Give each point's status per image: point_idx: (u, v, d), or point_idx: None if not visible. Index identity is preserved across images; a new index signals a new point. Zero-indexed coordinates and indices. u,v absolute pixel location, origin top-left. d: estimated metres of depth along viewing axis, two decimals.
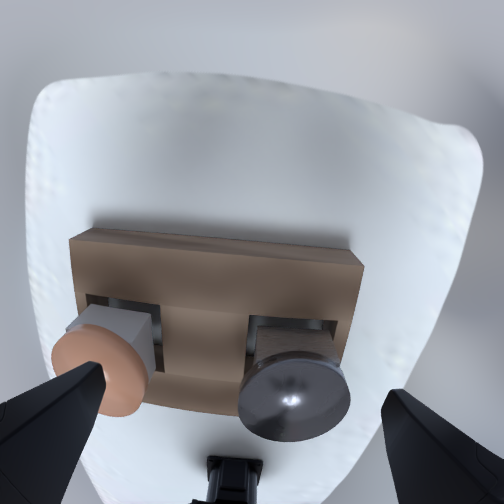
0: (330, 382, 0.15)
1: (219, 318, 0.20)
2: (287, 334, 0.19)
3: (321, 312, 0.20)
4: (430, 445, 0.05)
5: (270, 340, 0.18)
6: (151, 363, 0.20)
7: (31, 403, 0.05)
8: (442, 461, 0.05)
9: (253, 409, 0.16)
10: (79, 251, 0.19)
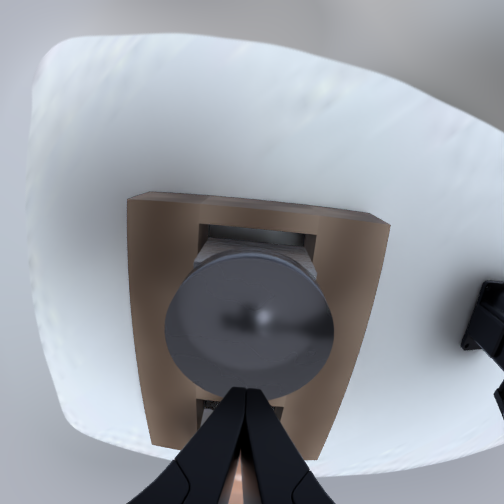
0: (190, 298, 0.11)
1: None
2: None
3: (187, 246, 0.16)
4: (250, 458, 0.05)
5: None
6: None
7: (210, 453, 0.05)
8: None
9: (247, 387, 0.12)
10: (159, 440, 0.21)
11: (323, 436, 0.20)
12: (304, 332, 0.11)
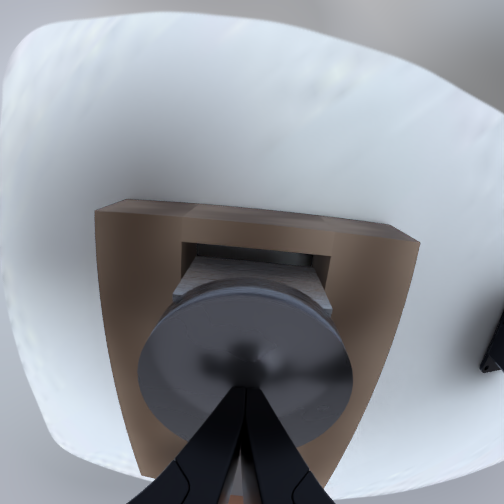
0: (167, 345, 0.08)
1: None
2: None
3: (167, 270, 0.12)
4: (250, 457, 0.05)
5: None
6: None
7: (210, 453, 0.05)
8: None
9: None
10: (149, 472, 0.17)
11: (329, 471, 0.17)
12: (315, 386, 0.08)
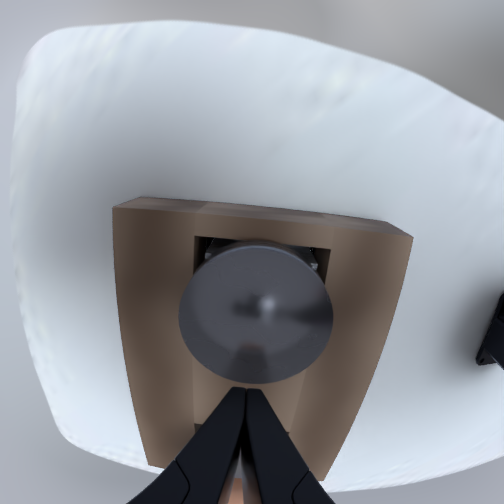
0: (203, 285, 0.12)
1: (202, 378, 0.16)
2: None
3: (181, 262, 0.14)
4: (250, 457, 0.05)
5: None
6: None
7: (210, 452, 0.05)
8: None
9: (253, 369, 0.13)
10: (156, 461, 0.19)
11: (330, 459, 0.18)
12: (306, 317, 0.12)
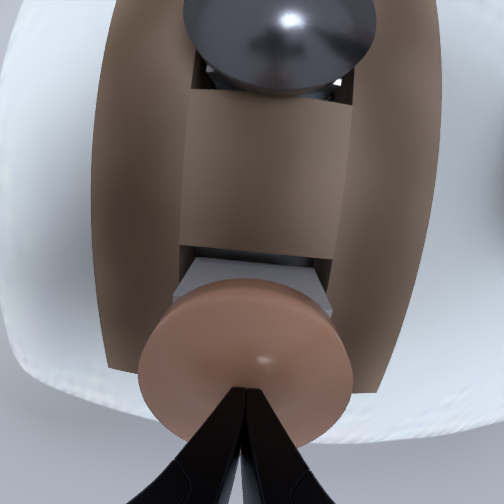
0: None
1: (199, 139, 0.11)
2: None
3: None
4: (250, 458, 0.05)
5: None
6: (287, 272, 0.12)
7: (210, 453, 0.05)
8: None
9: (280, 61, 0.08)
10: (119, 357, 0.14)
11: (392, 336, 0.13)
12: None
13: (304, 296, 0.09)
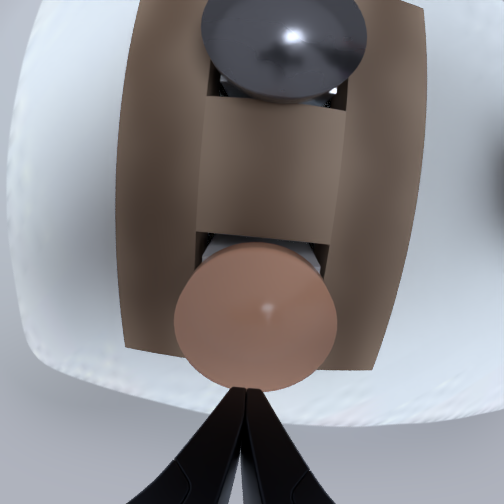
0: None
1: (214, 140, 0.12)
2: None
3: None
4: (250, 458, 0.05)
5: None
6: (287, 245, 0.15)
7: (210, 453, 0.05)
8: None
9: (284, 74, 0.10)
10: (136, 336, 0.15)
11: (384, 316, 0.15)
12: (337, 18, 0.09)
13: (299, 255, 0.12)
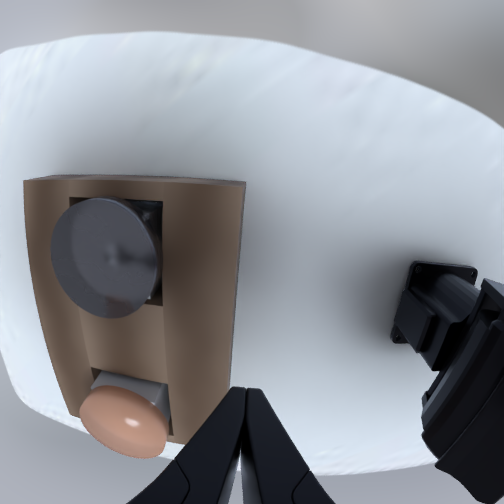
0: (62, 229, 0.14)
1: (87, 320, 0.17)
2: None
3: None
4: (250, 457, 0.05)
5: None
6: None
7: (210, 453, 0.05)
8: None
9: (103, 303, 0.15)
10: (74, 410, 0.21)
11: None
12: (130, 255, 0.14)
13: (139, 396, 0.17)
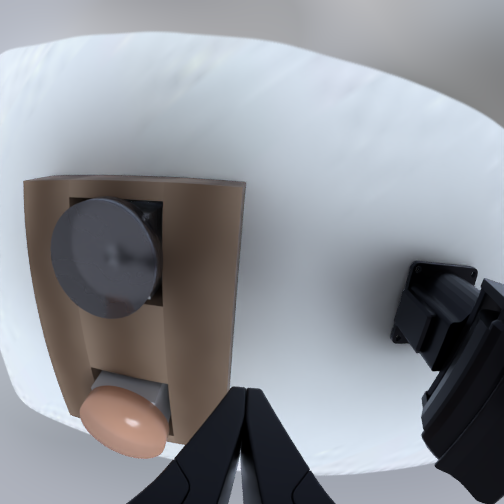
0: (62, 230, 0.14)
1: (87, 320, 0.18)
2: None
3: None
4: (250, 458, 0.05)
5: None
6: None
7: (210, 453, 0.05)
8: None
9: (103, 304, 0.15)
10: (75, 410, 0.21)
11: None
12: (130, 255, 0.14)
13: (139, 396, 0.17)
